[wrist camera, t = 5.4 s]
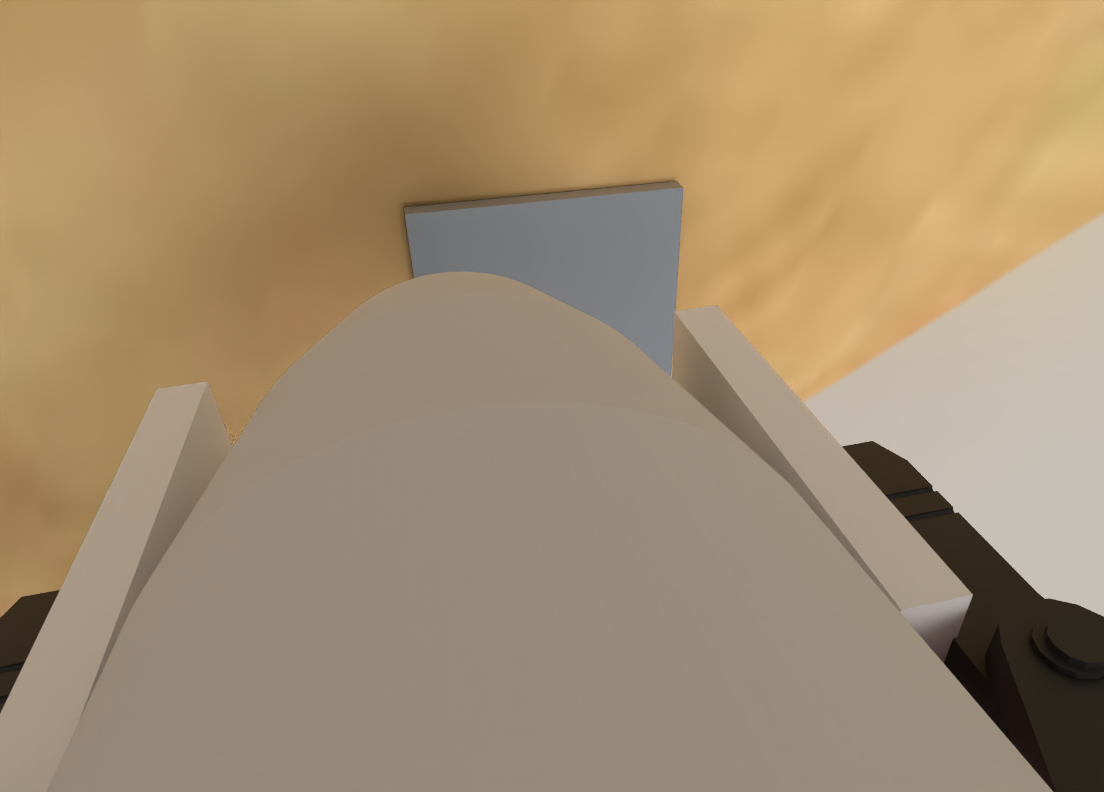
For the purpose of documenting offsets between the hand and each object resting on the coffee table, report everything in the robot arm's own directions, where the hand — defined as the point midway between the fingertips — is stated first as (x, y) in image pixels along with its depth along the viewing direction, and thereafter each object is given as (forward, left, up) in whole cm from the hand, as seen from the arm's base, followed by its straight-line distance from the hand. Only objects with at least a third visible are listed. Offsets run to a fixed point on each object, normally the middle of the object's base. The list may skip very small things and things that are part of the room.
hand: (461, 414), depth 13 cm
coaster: (+4, -6, -15) cm, 17 cm away
